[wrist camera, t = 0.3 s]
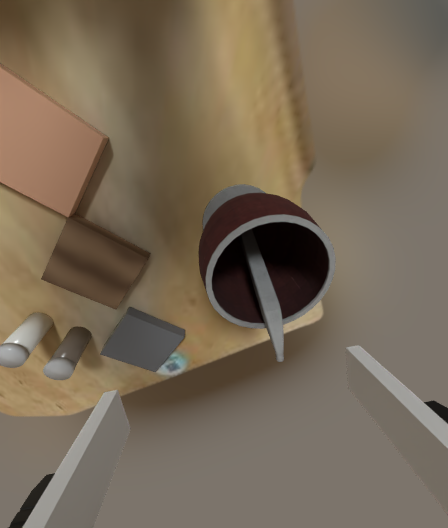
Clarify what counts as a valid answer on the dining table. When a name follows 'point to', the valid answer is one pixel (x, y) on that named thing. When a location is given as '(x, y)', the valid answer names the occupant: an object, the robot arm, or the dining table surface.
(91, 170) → the terracotta coaster
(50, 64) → the dining table surface
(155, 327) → the slate coaster
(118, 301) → the walnut coaster
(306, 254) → the mate gourd
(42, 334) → the salt shaker
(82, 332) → the pepper shaker
